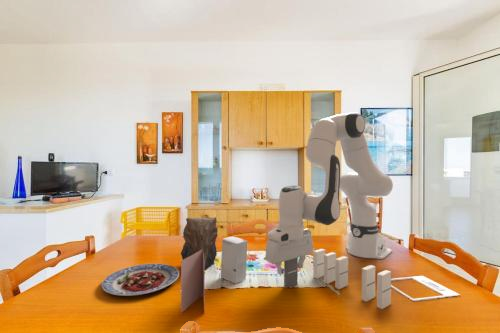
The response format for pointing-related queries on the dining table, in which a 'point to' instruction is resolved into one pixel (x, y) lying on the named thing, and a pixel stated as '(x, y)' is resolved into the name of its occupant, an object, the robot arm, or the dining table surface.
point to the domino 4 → (341, 272)
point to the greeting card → (192, 279)
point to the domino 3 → (329, 267)
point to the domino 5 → (368, 283)
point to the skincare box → (233, 259)
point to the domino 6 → (383, 289)
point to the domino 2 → (318, 263)
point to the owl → (200, 238)
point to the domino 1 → (290, 272)
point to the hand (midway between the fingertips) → (290, 270)
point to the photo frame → (430, 284)
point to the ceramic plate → (140, 279)
